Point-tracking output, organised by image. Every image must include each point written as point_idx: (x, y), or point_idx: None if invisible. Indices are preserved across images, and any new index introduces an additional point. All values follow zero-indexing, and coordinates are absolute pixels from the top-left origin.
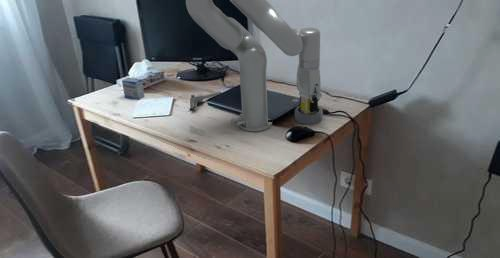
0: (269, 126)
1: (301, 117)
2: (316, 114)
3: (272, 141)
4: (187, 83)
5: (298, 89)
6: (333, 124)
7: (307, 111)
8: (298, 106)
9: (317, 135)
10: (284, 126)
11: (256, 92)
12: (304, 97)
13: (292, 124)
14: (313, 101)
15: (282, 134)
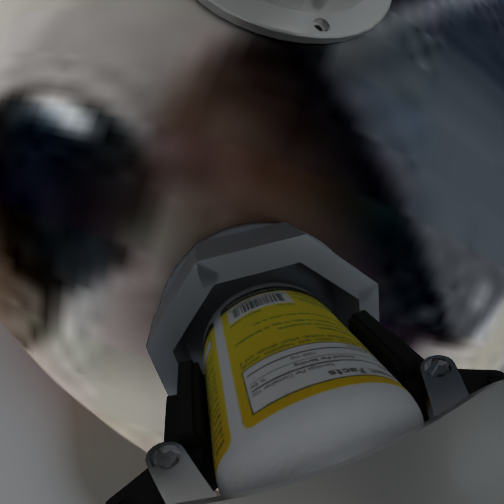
0: (203, 1)
1: (190, 262)
2: (166, 387)
3: (32, 14)
4: None
5: (473, 404)
6: (137, 416)
7: (213, 341)
8: (370, 292)
9: (14, 292)
10: (188, 105)
11: None
12: (265, 429)
13: (201, 175)
14: (151, 468)
15: (76, 70)
